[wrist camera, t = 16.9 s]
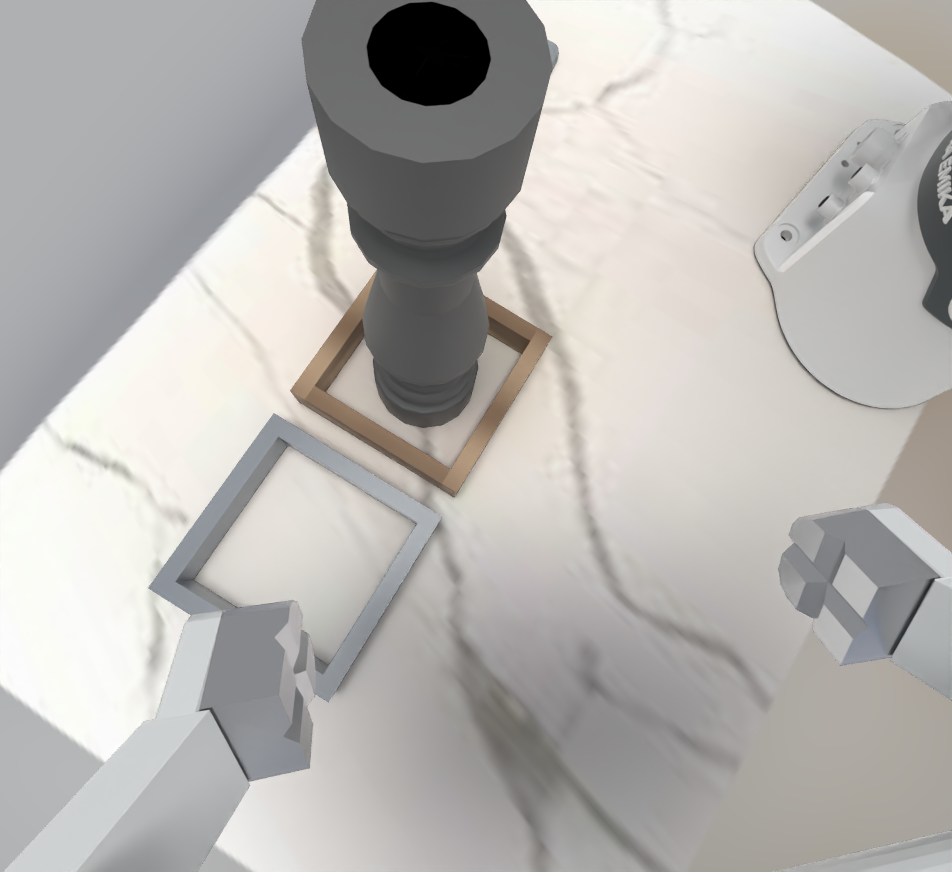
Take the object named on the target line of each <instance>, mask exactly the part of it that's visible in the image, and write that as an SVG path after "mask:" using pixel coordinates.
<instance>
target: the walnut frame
mask: <svg viewBox="0 0 952 872" xmlns="http://www.w3.org/2000/svg"><path fill="white" fill-rule="evenodd" d="M376 272H377V271H376ZM376 272H375V273H374V275H373V276H372V277H371V279H370V280H369V282H368V283H367V284H366V286H365V287H364V289H363V290H362V291H361V293H360V294H359V296H358V297H357V298H356V300H355V301H354V302H353V304H352V305H351V307H350V308H349V309H348V311H347V312H346V314H345V315H344V316H343V318H342V319H341V321H340V322H339V323H338V325H337V326H336V328H335V329H334V330H333V332H332V333H331V334H330V336H329V337H328V339H327V340H326V341H325V343H324V344H323V346H322V347H321V348H320V350H319V351H318V353H317V354H316V355H315V357H314V358H313V360H312V361H311V362H310V364H309V365H308V366H307V368H306V369H305V371H304V372H303V373H302V375H301V376H300V378H299V379H298V380H297V382H296V383H295V385H294V386H293V387H292V389H291V390H290V391H291V393H292V394H293V395H294V396H295V398H296V399H297V400H298V401H299V402H300V403H301V404H303V405H305V406H306V407H308V408H310V409H311V410H313V411H314V412H316V413H318V414H319V415H321V416H323V417H324V418H326V419H327V420H329V421H331V422H332V423H334V424H336V425H337V426H339V427H340V428H342V429H344V430H345V431H347V432H349V433H350V434H352V435H354V436H355V437H357V438H358V439H360V440H362V441H363V442H365V443H367V444H368V445H370V446H371V447H373V448H375V449H376V450H378V451H380V452H381V453H383V454H384V455H386V456H388V457H389V458H391V459H393V460H394V461H396V462H397V463H399V464H401V465H402V466H404V467H406V468H407V469H409V470H411V471H412V472H414V473H415V474H417V475H419V476H420V477H422V478H424V479H425V480H427V481H428V482H430V483H432V484H433V485H435V486H437V487H438V488H440V489H441V490H443V491H445V492H446V493H448V494H450V495H451V496H453V497H455V495H456V494H457V492H458V491H459V489H460V487H461V486H462V484H463V482H464V481H465V479H466V477H467V476H468V474H469V473H470V471H471V469H472V468H473V466H474V464H475V463H476V461H477V459H478V458H479V456H480V455H481V453H482V451H483V450H484V448H485V446H486V445H487V443H488V442H489V440H490V438H491V437H492V435H493V433H494V432H495V430H496V428H497V427H498V425H499V424H500V422H501V420H502V419H503V417H504V415H505V414H506V412H507V410H508V409H509V407H510V406H511V404H512V402H513V401H514V399H515V397H516V396H517V394H518V393H519V391H520V389H521V388H522V386H523V384H524V383H525V381H526V379H527V378H528V376H529V375H530V373H531V371H532V370H533V368H534V366H535V365H536V363H537V361H538V360H539V358H540V357H541V355H542V353H543V352H544V350H545V348H546V347H547V345H548V343H549V341H550V340H551V338H552V336H550V335H549V334H547V333H545V332H544V331H542V330H540V329H539V328H537V327H535V326H534V325H532V324H530V323H529V322H527V321H525V320H524V319H522V318H520V317H519V316H517V315H515V314H514V313H512V312H510V311H509V310H507V309H505V308H504V307H502V306H500V305H499V304H497V303H495V302H494V301H492V300H490V299H489V298H487V297H485V296H484V295H483V296H484V299H485V303H486V308H487V314H488V320H489V330H488V334H490V335H491V336H493V337H495V338H496V339H498V340H500V341H501V342H503V343H505V344H506V345H508V346H510V347H511V348H513V349H515V350H516V351H518V352H520V353H521V354H522V356H521V357H520V359H519V360H518V362H517V364H516V365H515V367H514V368H513V370H512V372H511V373H510V375H509V376H508V378H507V380H506V381H505V383H504V385H503V386H502V388H501V389H500V391H499V393H498V394H497V396H496V397H495V399H494V401H493V402H492V404H491V405H490V407H489V409H488V410H487V412H486V413H485V415H484V417H483V418H482V420H481V422H480V423H479V425H478V426H477V428H476V430H475V431H474V433H473V434H472V436H471V438H470V439H469V441H468V442H467V444H466V446H465V447H464V449H463V450H462V452H461V454H460V455H459V457H458V459H457V460H456V462H455V463H454V465H453V467H452V468H451V469H450V468H448V467H446V466H445V465H443V464H441V463H440V462H438V461H437V460H435V459H433V458H432V457H430V456H428V455H427V454H425V453H423V452H422V451H420V450H419V449H417V448H415V447H414V446H412V445H410V444H409V443H407V442H405V441H404V440H402V439H401V438H399V437H397V436H396V435H394V434H392V433H391V432H389V431H388V430H386V429H384V428H383V427H381V426H379V425H378V424H376V423H374V422H373V421H371V420H370V419H368V418H366V417H365V416H363V415H361V414H360V413H358V412H356V411H355V410H353V409H352V408H350V407H348V406H347V405H345V404H343V403H342V402H340V401H339V400H337V399H335V398H334V397H332V396H330V395H329V394H327V393H325V392H326V390H327V389H328V387H329V386H330V385H331V383H332V382H333V380H334V379H335V377H336V376H337V375H338V373H339V372H340V370H341V369H342V367H343V366H344V365H345V363H346V362H347V360H348V359H349V357H350V356H351V355H352V353H353V352H354V350H355V349H356V348H357V346H358V345H359V343H360V342H361V340H362V339H363V338H364V336H365V335H364V327H363V320H362V315H363V312H364V309H365V305H366V302H367V299H368V296H369V292H370V289H371V287H372V284H373V281H374V278H375V275H376Z"/></svg>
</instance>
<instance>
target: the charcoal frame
mask: <svg viewBox="0 0 952 872" xmlns="http://www.w3.org/2000/svg"><path fill="white" fill-rule="evenodd" d="M288 445H289V446H291V447H292V448H294V449H296V450H297V451H299V452H300V453H302V454H304V455H305V456H307V457H308V458H310V459H312V460H313V461H315V462H317V463H318V464H320V465H321V466H323V467H325V468H326V469H328V470H330V471H331V472H333V473H334V474H336V475H338V476H339V477H341V478H342V479H344V480H346V481H347V482H349V483H351V484H352V485H354V486H355V487H357V488H359V489H360V490H362V491H364V492H365V493H367V494H368V495H370V496H372V497H373V498H375V499H377V500H378V501H380V502H381V503H383V504H385V505H386V506H388V507H389V508H391V509H393V510H394V511H396V512H398V513H399V514H401V515H402V516H404V517H406V518H407V519H409V520H411V521H412V522H414V523H415V524H416V526H415V528H414V529H413V531H412V533H411V534H410V536H409V537H408V539H407V541H406V542H405V544H404V545H403V547H402V549H401V550H400V552H399V553H398V555H397V557H396V558H395V560H394V561H393V563H392V565H391V566H390V568H389V570H388V571H387V573H386V574H385V576H384V578H383V579H382V581H381V582H380V584H379V586H378V587H377V589H376V590H375V592H374V594H373V595H372V597H371V599H370V600H369V602H368V603H367V605H366V607H365V608H364V610H363V611H362V613H361V615H360V616H359V618H358V619H357V621H356V623H355V624H354V626H353V627H352V629H351V631H350V632H349V634H348V636H347V637H346V639H345V640H344V642H343V644H342V645H341V647H340V648H339V650H338V652H337V653H336V655H335V656H334V658H333V660H332V661H331V663H330V664H329V665H327V664H326V663H324V662H323V661H321V660H319V659H318V658H316V657H315V656H314V657H315V673H316V683H315V694H316V695H318V696H319V697H321V698H322V699H324V700H326V701H327V702H329V700H330V699H331V697H332V696H333V694H334V693H335V691H336V690H337V688H338V687H339V685H340V683H341V682H342V680H343V678H344V677H345V675H346V673H347V672H348V670H349V669H350V667H351V665H352V664H353V662H354V660H355V659H356V657H357V656H358V654H359V652H360V651H361V649H362V647H363V646H364V644H365V642H366V641H367V639H368V638H369V636H370V634H371V633H372V631H373V629H374V628H375V626H376V624H377V623H378V621H379V620H380V618H381V616H382V615H383V613H384V611H385V610H386V608H387V607H388V605H389V603H390V602H391V600H392V598H393V597H394V595H395V593H396V592H397V590H398V589H399V587H400V585H401V584H402V582H403V580H404V579H405V577H406V575H407V574H408V572H409V571H410V569H411V567H412V566H413V564H414V562H415V561H416V559H417V557H418V556H419V554H420V553H421V551H422V549H423V548H424V546H425V544H426V543H427V541H428V540H429V538H430V536H431V535H432V533H433V531H434V530H435V528H436V526H437V525H438V523H439V522H440V520H441V518H442V516H440V515H438V514H437V513H435V512H434V511H432V510H430V509H429V508H427V507H425V506H424V505H422V504H421V503H419V502H417V501H416V500H414V499H412V498H411V497H409V496H408V495H406V494H404V493H403V492H401V491H399V490H398V489H396V488H395V487H393V486H391V485H390V484H388V483H386V482H385V481H383V480H382V479H380V478H378V477H377V476H375V475H373V474H372V473H370V472H369V471H367V470H365V469H364V468H362V467H360V466H359V465H357V464H356V463H354V462H352V461H351V460H349V459H347V458H346V457H344V456H343V455H341V454H339V453H338V452H336V451H334V450H333V449H331V448H330V447H328V446H326V445H325V444H323V443H321V442H320V441H318V440H317V439H315V438H313V437H312V436H310V435H308V434H307V433H305V432H304V431H302V430H300V429H299V428H297V427H295V426H294V425H292V424H291V423H289V422H287V421H286V420H284V419H282V418H281V417H279V416H278V415H276V414H273V415H272V417H271V418H270V419H269V421H268V422H267V423H266V425H265V426H264V428H263V429H262V430H261V432H260V433H259V435H258V436H257V437H256V439H255V440H254V442H253V443H252V444H251V446H250V447H249V448H248V450H247V451H246V453H245V454H244V455H243V457H242V458H241V460H240V461H239V462H238V464H237V465H236V467H235V468H234V469H233V471H232V472H231V474H230V475H229V476H228V478H227V479H226V480H225V482H224V483H223V485H222V486H221V487H220V489H219V490H218V492H217V493H216V494H215V496H214V497H213V499H212V500H211V501H210V503H209V504H208V506H207V507H206V508H205V510H204V511H203V512H202V514H201V515H200V517H199V518H198V519H197V521H196V522H195V524H194V525H193V526H192V528H191V529H190V531H189V532H188V533H187V535H186V536H185V537H184V539H183V540H182V542H181V543H180V544H179V546H178V547H177V549H176V550H175V551H174V553H173V554H172V556H171V557H170V558H169V560H168V561H167V563H166V564H165V565H164V567H163V568H162V569H161V571H160V572H159V574H158V575H157V576H156V578H155V579H154V581H153V582H152V583H151V585H150V586H149V589H150V590H152V591H153V592H155V593H157V594H158V595H160V596H161V597H163V598H164V599H166V600H168V601H169V602H171V603H172V604H174V605H175V606H177V607H179V608H180V609H182V610H183V611H185V612H187V613H188V614H190V615H194V614H201V613H208V612H215V611H222V610H226V609H233V608H237V607H235V606H234V605H232V604H231V603H229V602H227V601H226V600H224V599H223V598H221V597H219V596H218V595H216V594H215V593H213V592H212V591H210V590H208V589H207V588H205V587H204V586H202V585H200V584H199V583H197V582H196V581H194V578H195V577H196V575H197V574H198V572H199V571H200V570H201V568H202V567H203V565H204V564H205V562H206V561H207V560H208V558H209V557H210V555H211V554H212V553H213V551H214V550H215V548H216V547H217V545H218V544H219V543H220V541H221V540H222V538H223V537H224V535H225V534H226V533H227V531H228V530H229V528H230V527H231V525H232V524H233V523H234V521H235V520H236V518H237V517H238V516H239V514H240V513H241V511H242V510H243V508H244V507H245V506H246V504H247V503H248V501H249V500H250V498H251V497H252V496H253V494H254V493H255V491H256V490H257V488H258V487H259V486H260V484H261V483H262V481H263V480H264V478H265V477H266V476H267V474H268V473H269V471H270V470H271V469H272V467H273V466H274V464H275V463H276V461H277V460H278V459H279V457H280V456H281V454H282V453H283V451H284V450H285V449H286V447H287V446H288Z"/></svg>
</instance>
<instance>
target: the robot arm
mask: <svg viewBox="0 0 952 872" xmlns="http://www.w3.org/2000/svg"><path fill="white" fill-rule="evenodd" d="M781 236H783V237H784V238H785V239H786V241H785V240H783V239H782V238H781ZM755 255H756V258H757V260H758V262H759V264H760V266H761V268H762V270H763V271H764V273H765V275H766V276H767V278H768V279H769V281H770V283H771V285H772V288H773V291H774V296H775V302H776V308H777V314H778V318H779V321H780V325H781V328H782V330H783V333H784V335H785V337H786V339H787V342H788V343H789V345H790V347H791V349H792V350H793V352H794V353H795V355H796V356H797V358H798V359H799V360H800V362H801V363H802V364H803V365H804V366H805V368H806V369H807V370H808V371H809V372H810V373H811V374H812V375H813V376H814V377H815V378H816V379H818V380H819V381H820V382H821V383H823V384H824V385H825V386H827V387H828V388H830V389H831V390H833V391H834V392H836V393H838V394H839V395H841V396H843V397H845V398H848V399H850V400H852V401H855V402H857V403H861V404H864V405H868V406H872V407H878V408H904V407H910V406H914V405H917V404H920V403H923V402H925V401H928V400H929V399H931V398H933V397H935V396H937V395H939V394H941V393H943V392H946V391H949V390H952V102H948V101H947V102H940V103H935V104H932V105H930V106H928V107H927V108H925V109H924V110H923V111H922V112H920V113H919V114H918V115H917V116H916V117H914V118H913V119H912V120H911V121H910V122H909V123H908V124H902V123H898V122H893V121H887V120H868V121H866V122H864V123H863V124H862V125H861V126H859V127H858V128H857V129H856V130H855V131H853V132H852V134H851V135H850V136H849V137H848V138H847V139H846V140H845V141H844V142H843V144H842V145H841V146H840V147H839V148H838V149H837V150H836V152H835V153H834V154H833V155H832V156H831V157H830V158H829V159H828V161H827V162H826V163H825V164H824V165H823V166H822V167H821V169H820V170H819V171H818V172H817V173H816V174H815V175H814V176H813V178H812V179H811V180H810V181H809V182H808V183H807V184H806V186H805V187H804V188H803V189H802V190H801V191H800V192H799V194H798V195H797V196H796V197H795V198H794V199H793V200H792V201H791V203H790V204H789V205H788V206H787V207H786V208H785V209H784V211H783V212H782V213H781V214H780V215H779V216H778V217H777V218H776V220H775V221H774V222H773V223H772V224H771V225H770V226H769V228H768V229H767V230H766V231H765V232H764V233H763V234H762V235H761V237H760V238H759V239H758V240H757V242H756V244H755ZM789 536H790V538H791V539H792V541H793V542H794V543H793V544H792V545H791V546H790V547H789V548H788V549H787V550H786V551H785V552H784V553H783V554H782V557H781V560H780V564H779V568H778V571H779V577H780V583H781V586H782V588H783V590H784V592H785V595H786V597H787V598H788V599H789V601H790V602H791V603H792V605H793V606H794V607H795V609H797V610H798V611H800V612H802V613H804V614H806V615H808V616H809V617H811V618H813V632H814V633H815V634H816V636H817V637H818V638H819V639H820V641H821V642H822V643H823V644H824V646H825V647H826V648H827V650H828V651H829V652H830V653H831V655H832V656H833V657H834V658H835V660H836V661H837V662H838V663H839V665H840V666H841V665H847V664H853V663H860V662H866V661H872V660H878V659H884V658H890V657H891V659H890V661H891V662H893V663H895V664H896V665H898V666H899V667H901V668H902V669H904V670H905V671H907V672H908V673H910V674H911V675H913V676H915V677H916V678H918V679H919V680H921V681H922V682H924V683H925V684H927V685H929V686H930V687H932V688H933V689H935V690H936V691H938V692H939V693H941V694H942V695H944V696H946V697H947V698H949V699H950V700H952V553H951V552H950V551H949V550H947V549H946V548H945V547H944V546H943V545H941V544H940V543H939V542H938V541H937V540H936V539H934V538H933V537H932V536H931V535H930V534H929V533H927V532H926V531H925V530H924V529H923V528H922V527H920V526H919V525H918V524H917V523H916V522H914V521H913V520H912V519H911V518H910V517H909V516H907V515H906V514H905V513H904V512H903V511H901V510H900V509H899V508H898V507H896V506H894V505H891V504H888V503H880V504H875V505H869V506H863V507H857V508H849V509H844V510H838V511H832V512H826V513H821V514H815V515H809V516H804V517H799V518H798V519H797V520H796V521H795V522H794V523H793V524H792V527H791V530H790V533H789ZM302 616H303V615H302V613H301V610H300V607H299V605H298V602H297V601H295V600H291V601H284V602H277V603H269V604H262V605H255V606H247V607H240V608H233V609H226V610H222V611H215V612H208V613H201V614H194V615H191V616H190V618H189V619H188V620H187V622H186V623H185V624H184V627H183V630H182V633H181V636H180V640H179V643H178V646H177V650H176V653H175V656H174V659H173V663H172V666H171V669H170V672H169V676H168V679H167V682H166V685H165V689H164V692H163V695H162V698H161V702H160V705H159V708H158V712H157V715H156V718H155V719H153V720H148V721H144V722H143V723H142V724H141V725H140V726H139V727H138V728H137V729H136V730H135V731H134V733H133V734H132V735H131V736H130V737H129V738H128V739H127V740H126V741H125V742H124V743H123V744H122V745H121V746H120V748H119V749H118V750H117V751H116V752H115V753H114V754H113V755H112V756H111V757H110V758H109V759H108V760H107V761H106V763H105V764H104V765H103V766H102V767H101V768H100V769H99V770H98V771H97V772H96V773H95V775H94V776H92V778H91V779H90V780H89V781H88V782H87V783H86V784H85V785H84V786H83V787H82V788H81V790H79V792H78V793H77V794H76V795H75V796H74V797H73V798H72V799H71V800H70V801H69V802H68V803H67V804H66V806H64V808H63V809H62V810H61V811H60V812H59V813H58V814H57V815H56V816H55V817H54V818H53V819H52V820H51V822H50V823H49V824H48V825H47V826H46V827H45V828H44V829H43V830H42V831H41V832H40V833H39V834H38V835H37V837H36V838H35V839H34V840H33V841H32V842H31V843H30V844H29V845H28V846H27V847H26V848H25V849H24V850H23V852H22V853H21V854H20V855H19V856H18V857H17V858H16V859H15V860H14V861H13V862H12V863H11V864H10V865H9V866H8V868H7V869H6V870H5V871H4V872H198V870H199V869H200V867H201V865H202V864H203V862H204V860H205V859H206V857H207V855H208V854H209V852H210V850H211V849H212V847H213V845H214V844H215V842H216V841H217V839H218V837H219V836H220V834H221V832H222V831H223V829H224V827H225V826H226V824H227V822H228V821H229V819H230V818H231V816H232V814H233V813H234V811H235V809H236V808H237V806H238V804H239V803H240V801H241V799H242V798H243V796H244V794H245V793H246V791H247V790H248V788H249V786H250V784H249V781H254V780H258V779H263V778H268V777H272V776H277V775H281V774H286V773H290V772H295V771H299V770H304V769H308V768H310V757H311V743H312V730H313V723H312V720H311V717H310V714H309V712H308V709H307V706H308V704H309V703H310V702H311V700H312V699H313V698H314V696H315V683H316V673H315V657H314V652H313V647H312V643H311V639H310V636H309V634H308V633H306V632H304V631H302V630H301V627H302ZM773 872H952V830H950V831H946V832H941V833H937V834H933V835H929V836H924V837H920V838H916V839H911V840H907V841H902V842H898V843H894V844H889V845H885V846H881V847H876V848H872V849H868V850H863V851H859V852H855V853H850V854H846V855H842V856H837V857H833V858H829V859H825V860H821V861H816V862H811V863H807V864H803V865H798V866H794V867H790V868H785V869H781V870H777V871H773Z"/></svg>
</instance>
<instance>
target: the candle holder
mask: <svg viewBox="0 0 952 872" xmlns="http://www.w3.org/2000/svg"><path fill="white" fill-rule="evenodd" d="M302 47H303V55H304V64H305V71H306V80H307V85H308V89H309V93H310V97H311V101H312V105H313V110H314V114H315V118H316V122H317V126H318V130H319V134H320V138H321V142H322V146H323V150H324V155H325V159H326V163H327V167H328V171H329V174H330V176H331V177H332V179H333V181H334V182H335V184H336V185H337V187H338V189H339V190H340V192H341V193H342V195H343V197H344V198H345V200H346V201H347V206H348V214H349V222H350V229H351V234H352V237H353V238H354V240H355V242H356V243H357V245H358V247H359V248H360V250H361V251H362V253H363V255H364V256H365V258H366V260H367V261H368V263H370V264H371V265H372V266H374V267H375V268H377V272H376V275H375V278H374V281H373V284H372V287H371V289H370V292H369V296H368V299H367V302H366V305H365V309H364V312H363V315H362V320H363V327H364V335H365V341H366V345H367V347H368V348H369V350H370V351H371V353H372V355H373V356H374V359H373V366H374V374H375V381H376V385H377V389H378V392H379V396H380V398H381V399H382V401H383V403H384V404H385V406H386V408H387V409H388V411H389V412H390V413H391V414H393V415H394V416H395V417H397V418H398V419H399V420H401V421H402V422H404V423H406V424H410V425H414V426H418V427H422V428H425V427H432V426H440V425H443V424H445V423H447V422H448V421H450V420H452V419H454V418H455V417H457V416H458V415H459V414H460V413H461V412H462V410H463V409H464V408H465V406H466V405H467V404H468V402H469V401H470V397H471V394H472V390H473V387H474V383H475V379H476V375H477V371H478V364H477V359H478V358H479V356H480V355H481V354H482V353H483V349H484V346H485V342H486V338H487V334H488V330H489V320H488V314H487V308H486V303H485V299H484V296H483V293H482V290H481V287H480V283H479V280H478V277H477V272H479V271H480V270H481V269H482V267H483V266H484V265H485V264H486V263H487V261H488V260H489V259H490V258H491V256H492V255H493V254H494V253H495V251H496V250H497V249H498V247H499V243H500V239H501V235H502V231H503V228H504V224H505V220H506V212H505V209H506V208H507V206H508V205H509V204H510V203H511V201H512V200H513V199H514V198H515V197H516V195H517V194H518V193H519V192H520V190H521V187H522V183H523V179H524V175H525V171H526V168H527V164H528V160H529V156H530V152H531V148H532V145H533V141H534V137H535V133H536V129H537V126H538V122H539V118H540V114H541V110H542V106H543V103H544V99H545V95H546V91H547V87H548V83H549V79H550V75H551V71H552V67H553V65H552V60H551V56H550V51H549V46H548V42H547V37H546V32H545V28H544V25H543V23H542V22H541V21H540V19H539V18H538V16H537V15H536V14H535V12H534V11H533V9H532V8H531V7H530V5H529V4H528V2H527V1H526V0H316V2H315V5H314V7H313V10H312V13H311V16H310V18H309V21H308V24H307V27H306V29H305V32H304V34H303V37H302Z"/></svg>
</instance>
